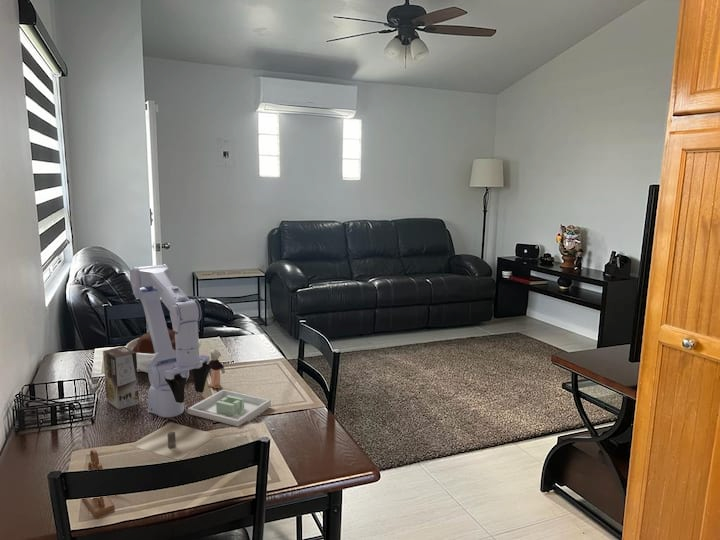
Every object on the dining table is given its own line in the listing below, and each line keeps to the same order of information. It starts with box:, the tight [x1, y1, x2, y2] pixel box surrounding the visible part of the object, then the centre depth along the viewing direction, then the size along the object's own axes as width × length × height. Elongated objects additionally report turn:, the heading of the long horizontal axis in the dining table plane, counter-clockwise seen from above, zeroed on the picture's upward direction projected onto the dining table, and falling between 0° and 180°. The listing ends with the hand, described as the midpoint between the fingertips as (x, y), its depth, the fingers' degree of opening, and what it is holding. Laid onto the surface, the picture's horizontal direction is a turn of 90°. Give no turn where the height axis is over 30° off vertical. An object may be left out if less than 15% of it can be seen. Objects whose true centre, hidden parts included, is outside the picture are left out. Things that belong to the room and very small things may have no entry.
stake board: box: [129, 421, 218, 461], centre depth 133 cm, size 16×14×5 cm
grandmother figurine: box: [207, 349, 226, 389], centre depth 169 cm, size 8×4×13 cm, turn 68°
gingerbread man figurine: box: [82, 448, 116, 518], centre depth 108 cm, size 9×4×12 cm, turn 43°
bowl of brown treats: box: [125, 327, 202, 374], centre depth 185 cm, size 25×25×15 cm
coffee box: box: [102, 345, 140, 410], centre depth 156 cm, size 9×6×16 cm
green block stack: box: [216, 395, 245, 417], centre depth 151 cm, size 7×6×3 cm
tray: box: [187, 388, 272, 427], centre depth 152 cm, size 18×16×2 cm
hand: (189, 396), depth 137 cm, fingers open, 7 cm apart
